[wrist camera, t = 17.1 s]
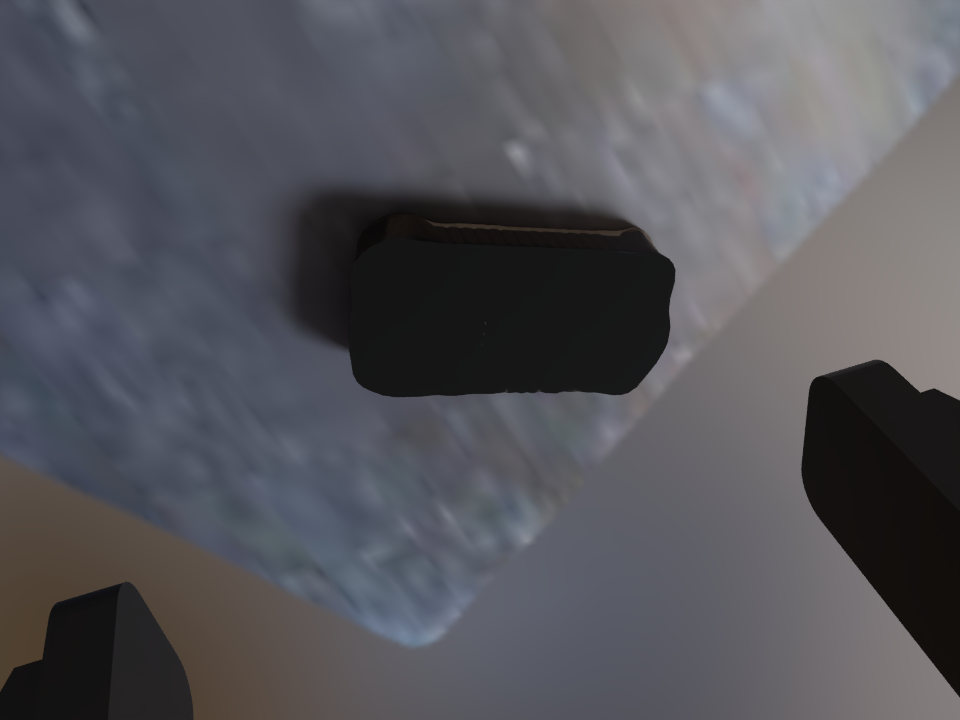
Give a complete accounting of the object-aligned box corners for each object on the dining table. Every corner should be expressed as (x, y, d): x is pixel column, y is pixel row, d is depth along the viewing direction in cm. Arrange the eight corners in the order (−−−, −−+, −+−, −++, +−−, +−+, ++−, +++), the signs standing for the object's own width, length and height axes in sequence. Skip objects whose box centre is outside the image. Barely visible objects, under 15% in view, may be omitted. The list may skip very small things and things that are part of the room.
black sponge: (333, 356, 45) (343, 399, 42) (352, 202, 41) (365, 239, 38) (623, 358, 50) (649, 397, 48) (667, 222, 46) (700, 256, 43)
